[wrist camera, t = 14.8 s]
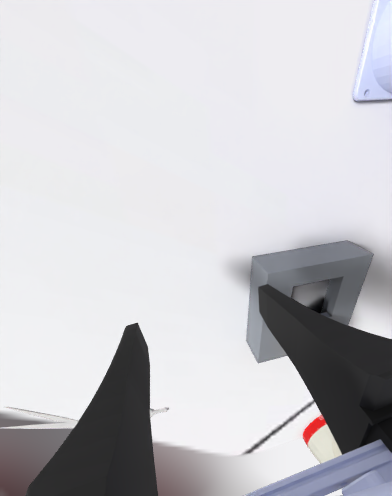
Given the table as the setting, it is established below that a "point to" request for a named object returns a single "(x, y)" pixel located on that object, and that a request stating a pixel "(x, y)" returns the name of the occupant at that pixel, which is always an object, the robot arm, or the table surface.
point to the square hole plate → (303, 272)
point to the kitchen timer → (321, 440)
